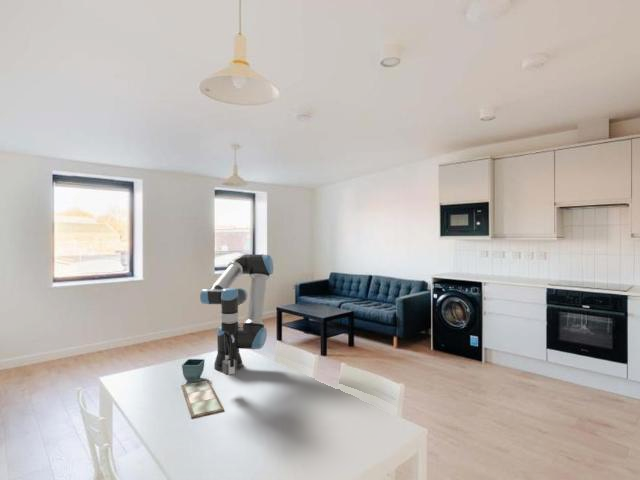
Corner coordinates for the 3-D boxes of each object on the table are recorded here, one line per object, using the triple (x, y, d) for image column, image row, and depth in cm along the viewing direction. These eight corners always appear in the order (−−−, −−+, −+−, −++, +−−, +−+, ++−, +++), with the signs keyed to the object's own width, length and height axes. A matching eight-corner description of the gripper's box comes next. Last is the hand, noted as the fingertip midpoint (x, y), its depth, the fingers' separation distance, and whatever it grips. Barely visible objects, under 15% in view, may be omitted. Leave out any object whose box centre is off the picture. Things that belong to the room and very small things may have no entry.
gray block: (232, 369, 172) (232, 358, 172) (236, 372, 168) (236, 361, 168) (222, 371, 169) (222, 360, 169) (226, 374, 165) (226, 363, 165)
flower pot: (199, 383, 179) (199, 365, 179) (181, 383, 179) (181, 365, 179) (205, 376, 188) (205, 359, 187) (188, 376, 188) (188, 358, 188)
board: (209, 381, 181) (209, 379, 181) (224, 411, 151) (224, 408, 151) (181, 386, 175) (181, 384, 175) (191, 418, 145) (191, 416, 145)
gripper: (217, 318, 175) (217, 366, 175) (226, 327, 158) (226, 379, 159) (232, 316, 178) (233, 363, 179) (243, 325, 162) (243, 376, 162)
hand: (230, 371), depth 169 cm, fingers closed on gray block, 5 cm apart
